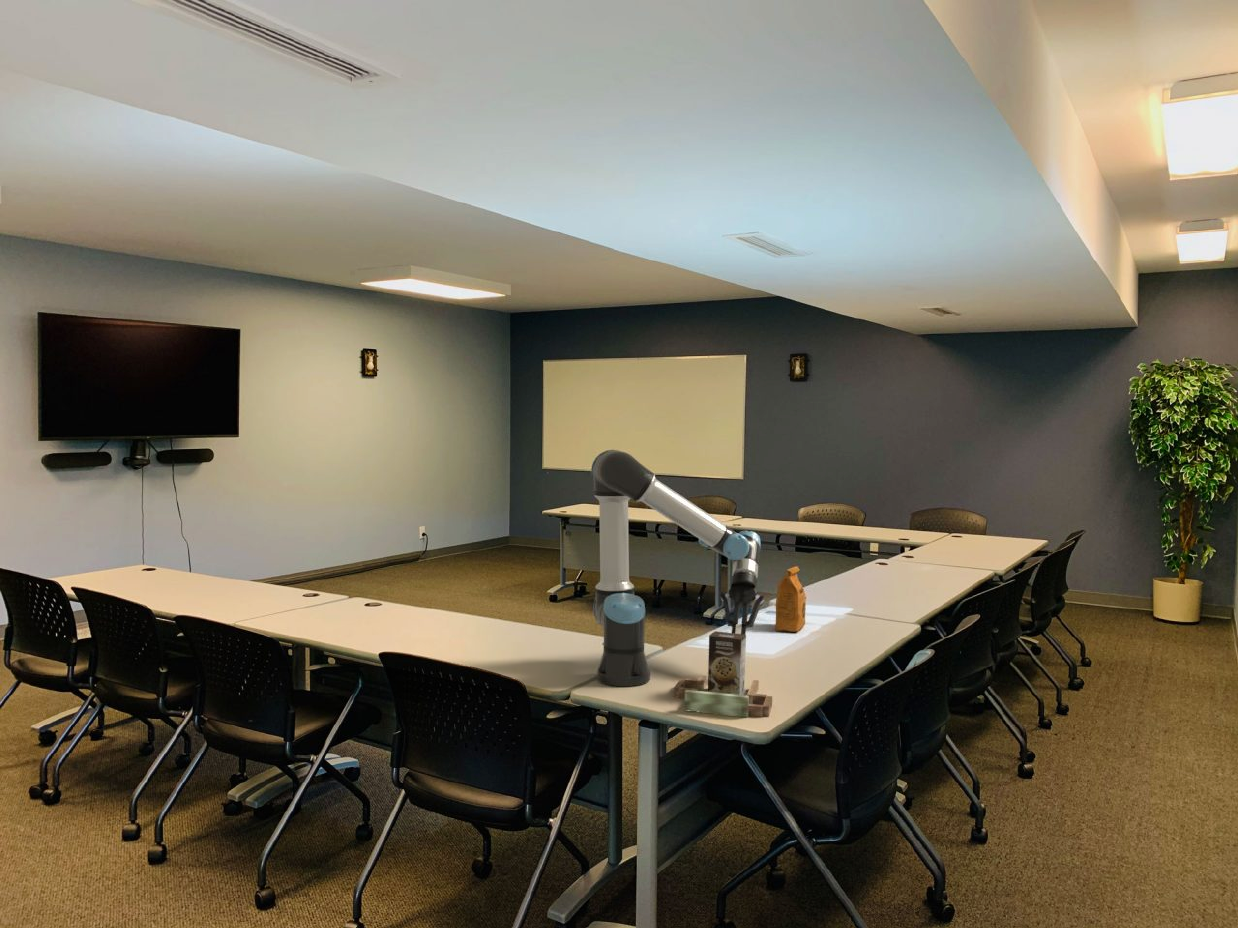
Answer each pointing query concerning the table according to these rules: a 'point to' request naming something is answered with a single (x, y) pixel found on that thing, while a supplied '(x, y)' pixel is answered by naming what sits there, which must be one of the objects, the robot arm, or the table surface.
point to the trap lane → (722, 699)
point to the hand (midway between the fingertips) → (737, 646)
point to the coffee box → (726, 663)
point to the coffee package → (790, 603)
